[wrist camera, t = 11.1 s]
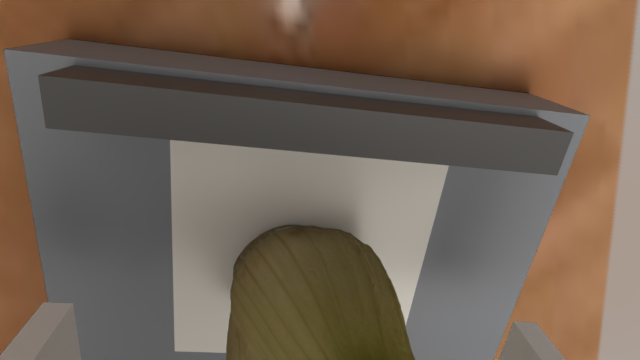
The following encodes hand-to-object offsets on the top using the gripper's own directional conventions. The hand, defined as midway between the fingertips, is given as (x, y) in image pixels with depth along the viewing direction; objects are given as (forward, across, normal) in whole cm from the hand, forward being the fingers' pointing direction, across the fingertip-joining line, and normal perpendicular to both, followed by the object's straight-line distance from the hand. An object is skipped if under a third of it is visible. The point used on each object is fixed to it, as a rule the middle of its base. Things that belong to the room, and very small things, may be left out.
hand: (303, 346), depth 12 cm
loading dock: (+8, 0, -1) cm, 9 cm away
